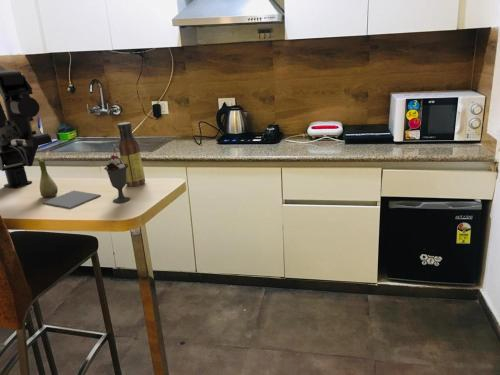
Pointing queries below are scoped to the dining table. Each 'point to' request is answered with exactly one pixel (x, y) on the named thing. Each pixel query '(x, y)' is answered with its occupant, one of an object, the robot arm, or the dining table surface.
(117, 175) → the sundae
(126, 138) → the sauce bottle
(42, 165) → the fennel bulb
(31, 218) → the dining table surface
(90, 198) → the mat
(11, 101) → the robot arm
